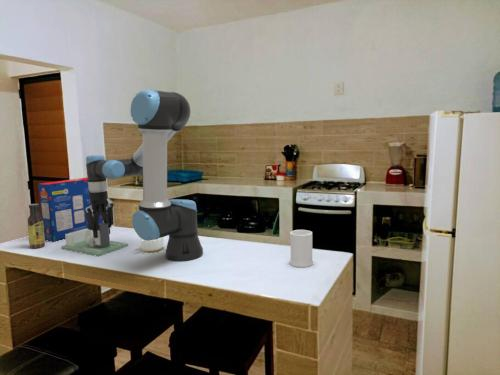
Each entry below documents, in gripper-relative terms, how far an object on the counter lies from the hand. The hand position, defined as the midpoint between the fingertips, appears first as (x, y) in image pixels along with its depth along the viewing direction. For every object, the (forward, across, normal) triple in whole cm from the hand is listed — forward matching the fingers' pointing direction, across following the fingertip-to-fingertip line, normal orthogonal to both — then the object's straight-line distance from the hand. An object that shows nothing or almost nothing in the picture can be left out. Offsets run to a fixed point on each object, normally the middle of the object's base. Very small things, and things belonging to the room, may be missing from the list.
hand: (102, 243), depth 165 cm
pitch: (+3, 0, -6) cm, 6 cm away
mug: (+3, -22, +86) cm, 89 cm away
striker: (+1, 0, -2) cm, 2 cm away
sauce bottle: (+3, +11, -31) cm, 33 cm away
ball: (0, 0, -8) cm, 8 cm away
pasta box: (+3, -11, -35) cm, 37 cm away
